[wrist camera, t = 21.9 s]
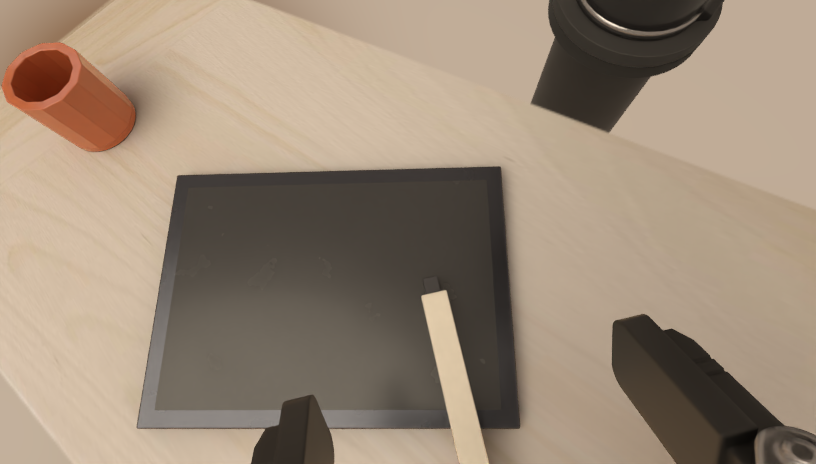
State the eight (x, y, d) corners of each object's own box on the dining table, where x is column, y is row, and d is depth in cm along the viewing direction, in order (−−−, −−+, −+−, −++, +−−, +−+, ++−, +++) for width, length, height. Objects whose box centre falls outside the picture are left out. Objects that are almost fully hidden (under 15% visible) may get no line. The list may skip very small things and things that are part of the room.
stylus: (442, 272, 26) (504, 525, 22) (441, 277, 27) (500, 515, 23) (417, 278, 26) (474, 532, 22) (417, 283, 27) (472, 522, 23)
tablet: (498, 172, 30) (501, 165, 29) (517, 426, 26) (520, 429, 25) (184, 181, 31) (176, 174, 30) (146, 426, 27) (134, 428, 26)
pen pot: (141, 91, 34) (88, 40, 29) (129, 151, 32) (70, 108, 27) (77, 94, 34) (13, 43, 29) (63, 152, 33) (-8, 111, 27)
